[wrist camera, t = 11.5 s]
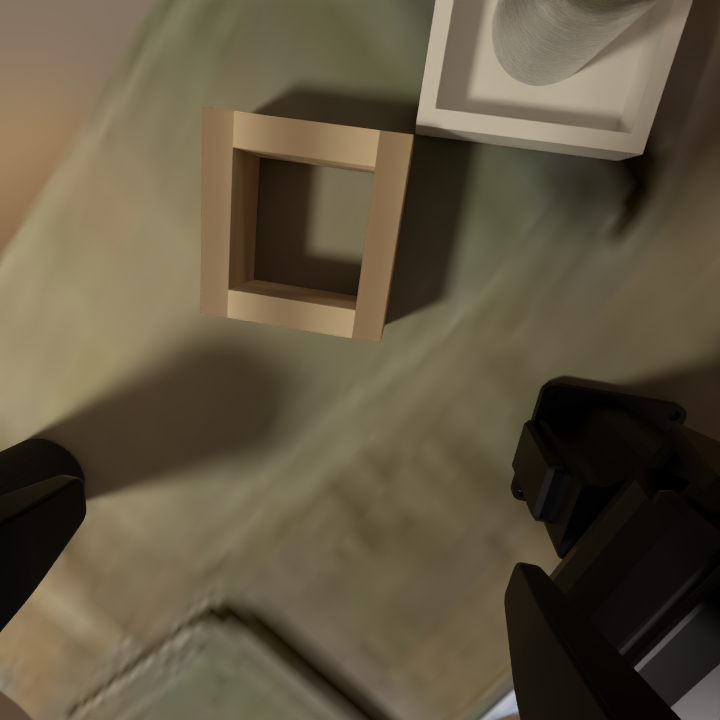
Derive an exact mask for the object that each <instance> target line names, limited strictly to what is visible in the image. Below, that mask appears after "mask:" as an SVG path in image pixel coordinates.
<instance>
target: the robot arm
mask: <svg viewBox="0 0 720 720" xmlns="http://www.w3.org/2000/svg"><path fill="white" fill-rule="evenodd" d="M552 390H556V394H555V395H554V396H552V397H549V396H548V393H549V392H550V391H552ZM672 411H675V414H674V415H673V416H671V417H668V416H669V414H670V412H672ZM685 418H686V411H685V410H684V409H683V408H682V407H681V406H680V405H678V404H676V403H673V402H667V401H662V400H656V399H650V398H644V397H638V396H632V395H626V394H620V393H614V392H608V391H602V390H596V389H591V388H585V387H579V386H573V385H567V384H561V383H555V382H549V383H546V384H545V385H543V386H542V388H541V390H540V392H539V396H538V399H537V402H536V405H535V409H534V412H533V415H532V419H531V420H529V421H527V422H526V423H525V424H524V427H523V430H522V433H521V437H520V440H519V443H518V447H517V450H516V453H515V457H514V460H513V463H512V467H513V469H514V472H515V474H514V477H513V481H512V484H511V491H512V494H513V496H514V497H515V498H516V499H518V500H522V501H526V502H527V505H528V508H529V510H530V513H531V515H532V516H533V518H534V519H535V520H536V521H539V522H544V524H545V527H546V529H547V532H548V534H549V536H550V539H551V541H552V543H553V546H554V548H555V551H556V553H557V555H558V557H559V558H561V559H563V560H562V561H561V562H560V564H559V565H558V566H557V567H556V569H555V570H554V571H553V572H552V574H551V575H550V576H548V575H547V574H546V573H545V572H544V571H543V570H542V569H541V568H540V567H539V566H537V565H533V564H527V563H522V562H519V563H517V564H516V565H515V567H514V570H513V572H512V575H511V578H510V581H509V584H508V586H507V589H506V592H505V600H504V604H505V613H506V622H507V631H508V640H509V649H510V658H511V667H512V675H513V683H514V690H515V695H516V701H517V706H518V710H519V715H520V720H720V442H718V441H715V440H713V439H711V438H709V437H707V436H705V435H702V434H700V433H698V432H696V431H694V430H691V429H689V428H687V427H685V426H683V423H684V420H685ZM520 488H521V490H522V492H519V491H518V490H519V489H520ZM85 515H86V499H85V488H84V482H83V481H82V479H80V478H77V477H72V476H67V475H59V476H56V477H53V478H51V479H48V480H45V481H42V482H39V483H36V484H34V485H31V486H28V487H25V488H22V489H20V490H17V491H14V492H11V493H8V494H5V495H3V496H0V632H1V631H2V630H3V628H4V627H5V626H6V625H7V624H8V622H9V621H10V620H11V619H12V618H13V616H14V615H15V614H16V613H17V612H18V610H19V609H20V608H21V607H22V606H23V604H24V603H25V602H26V601H27V599H28V598H29V597H30V596H31V594H32V593H33V592H34V591H35V589H36V588H37V586H38V585H39V584H40V582H41V581H42V580H43V578H44V577H45V575H46V574H47V573H48V571H49V570H50V568H51V567H52V565H53V564H54V562H55V561H56V560H57V558H58V557H59V555H60V554H61V552H62V551H63V550H64V548H65V547H66V545H67V544H68V542H69V541H70V540H71V538H72V537H73V535H74V534H75V532H76V531H77V529H78V528H79V527H80V525H81V524H82V522H83V520H84V518H85Z"/></svg>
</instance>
